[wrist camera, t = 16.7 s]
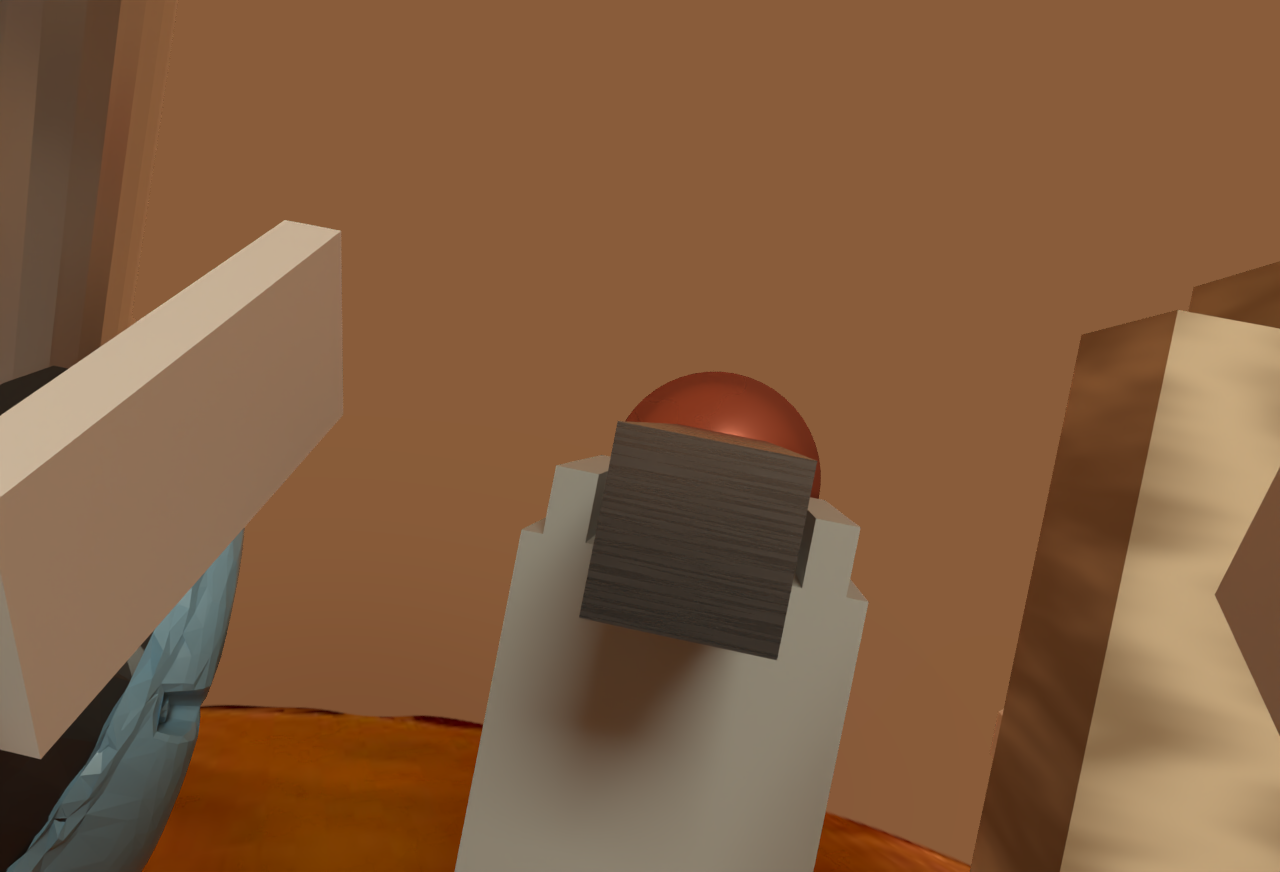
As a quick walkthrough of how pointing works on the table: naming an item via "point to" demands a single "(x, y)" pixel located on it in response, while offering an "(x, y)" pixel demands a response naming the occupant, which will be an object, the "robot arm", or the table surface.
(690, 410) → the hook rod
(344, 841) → the table surface
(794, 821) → the tall grey block
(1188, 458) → the beige patterned tall block
